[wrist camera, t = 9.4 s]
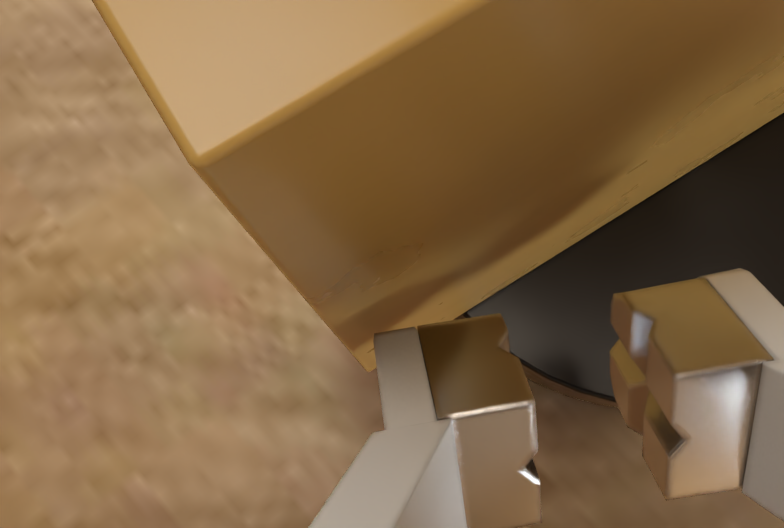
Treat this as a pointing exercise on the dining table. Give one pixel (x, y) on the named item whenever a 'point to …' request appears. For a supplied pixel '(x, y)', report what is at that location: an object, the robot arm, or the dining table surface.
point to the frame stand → (647, 263)
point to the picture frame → (443, 129)
